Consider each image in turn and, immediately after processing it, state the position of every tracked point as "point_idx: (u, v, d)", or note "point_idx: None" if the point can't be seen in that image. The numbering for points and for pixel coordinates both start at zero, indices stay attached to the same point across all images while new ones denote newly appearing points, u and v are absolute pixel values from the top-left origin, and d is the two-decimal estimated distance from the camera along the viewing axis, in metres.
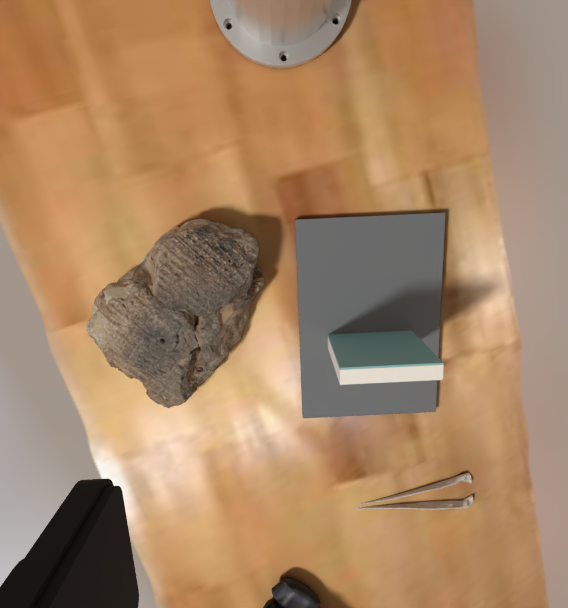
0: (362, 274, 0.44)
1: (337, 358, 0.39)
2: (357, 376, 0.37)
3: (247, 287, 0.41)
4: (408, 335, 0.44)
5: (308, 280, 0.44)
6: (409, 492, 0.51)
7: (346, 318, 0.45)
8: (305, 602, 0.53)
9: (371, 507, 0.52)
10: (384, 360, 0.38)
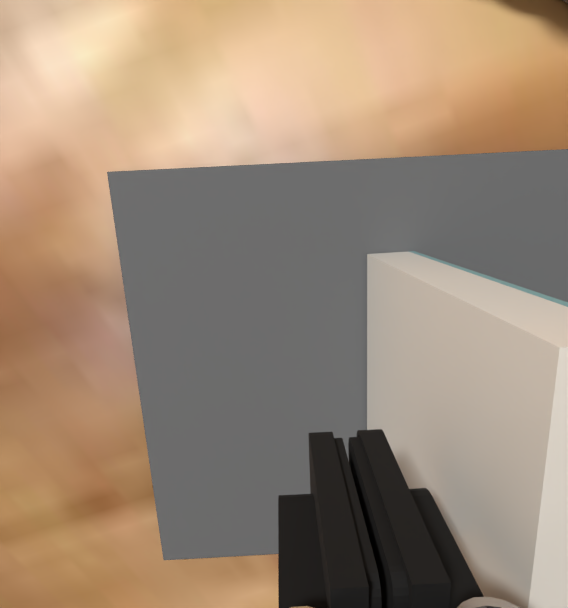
0: None
1: None
2: None
3: None
4: None
5: None
6: None
7: None
8: None
9: None
10: None
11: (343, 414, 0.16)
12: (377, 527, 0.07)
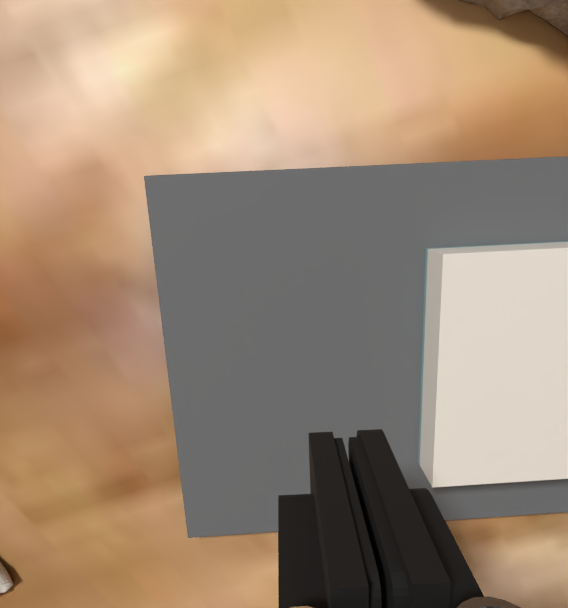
0: None
1: None
2: None
3: None
4: None
5: None
6: None
7: None
8: None
9: None
10: None
11: (356, 399, 0.17)
12: (377, 527, 0.07)
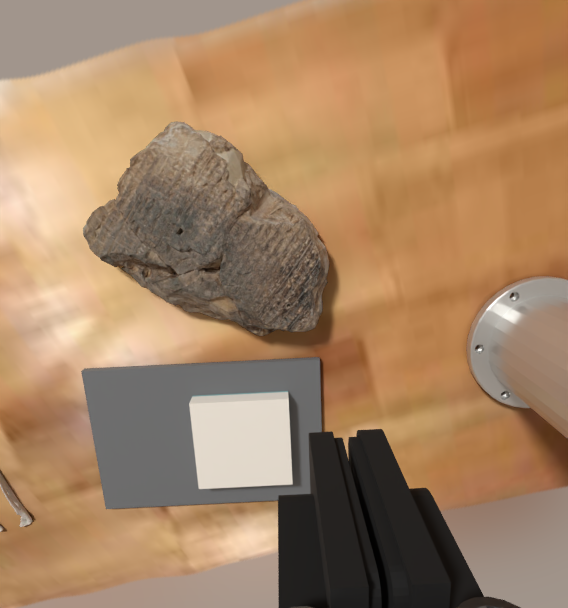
0: None
1: (265, 393, 0.40)
2: None
3: (258, 325, 0.36)
4: None
5: (253, 374, 0.40)
6: None
7: None
8: None
9: None
10: None
11: (172, 452, 0.42)
12: (377, 527, 0.07)
